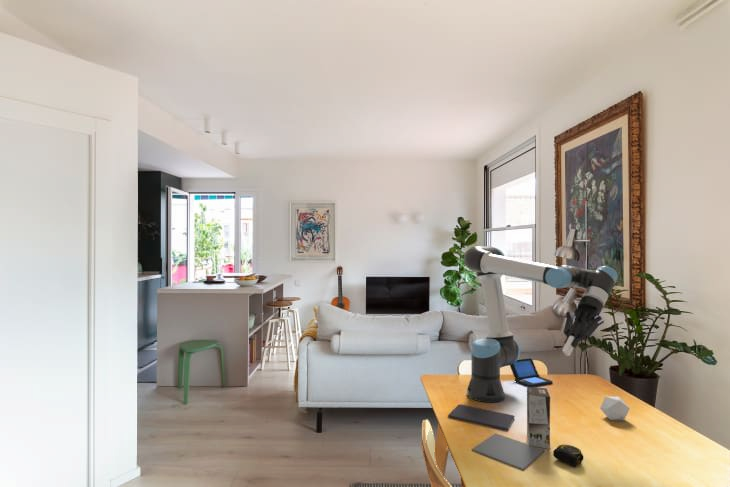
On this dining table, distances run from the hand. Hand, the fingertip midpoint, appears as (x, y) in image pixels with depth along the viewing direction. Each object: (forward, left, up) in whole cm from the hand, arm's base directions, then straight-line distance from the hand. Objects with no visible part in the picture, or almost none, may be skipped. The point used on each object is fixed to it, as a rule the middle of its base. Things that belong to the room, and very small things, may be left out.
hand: (565, 353), depth 137 cm
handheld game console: (-31, +46, -27) cm, 62 cm away
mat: (-8, -27, -27) cm, 39 cm away
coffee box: (-4, -14, -27) cm, 31 cm away
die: (+9, +25, -27) cm, 38 cm away
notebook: (-26, -10, -28) cm, 39 cm away
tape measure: (+7, -21, -27) cm, 35 cm away
